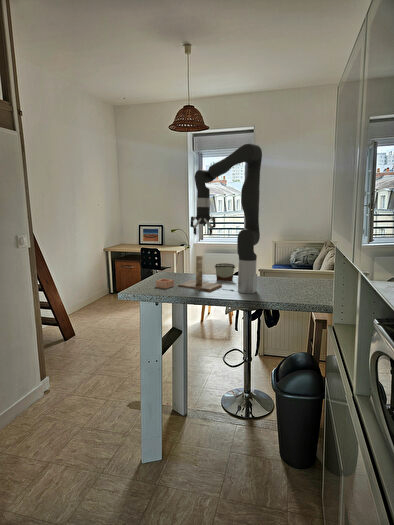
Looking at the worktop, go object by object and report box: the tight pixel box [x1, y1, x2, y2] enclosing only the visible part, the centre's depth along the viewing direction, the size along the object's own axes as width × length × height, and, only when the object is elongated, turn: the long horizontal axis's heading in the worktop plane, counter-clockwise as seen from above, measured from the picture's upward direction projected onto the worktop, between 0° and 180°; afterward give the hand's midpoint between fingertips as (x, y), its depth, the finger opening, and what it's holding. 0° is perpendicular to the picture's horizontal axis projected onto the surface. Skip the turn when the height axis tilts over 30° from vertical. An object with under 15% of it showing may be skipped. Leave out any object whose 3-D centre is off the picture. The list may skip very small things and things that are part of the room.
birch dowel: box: [195, 255, 204, 285], centre depth 194 cm, size 4×4×16 cm
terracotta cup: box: [155, 278, 175, 289], centre depth 194 cm, size 7×7×4 cm
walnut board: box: [177, 279, 223, 293], centre depth 196 cm, size 20×14×2 cm
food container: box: [214, 262, 236, 282], centre depth 214 cm, size 12×6×10 cm, turn 84°
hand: (202, 234), depth 203 cm, fingers open, 8 cm apart
